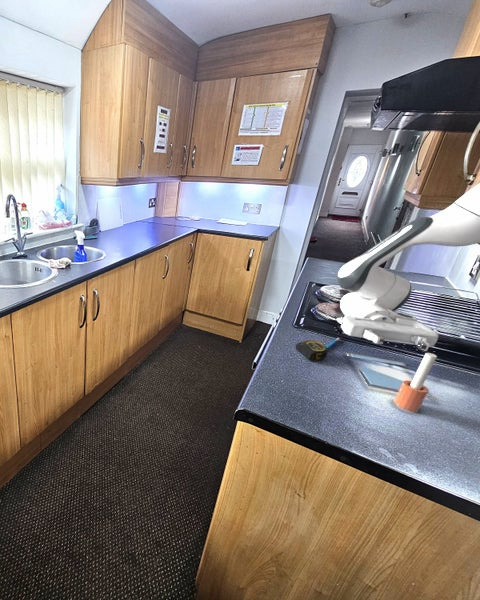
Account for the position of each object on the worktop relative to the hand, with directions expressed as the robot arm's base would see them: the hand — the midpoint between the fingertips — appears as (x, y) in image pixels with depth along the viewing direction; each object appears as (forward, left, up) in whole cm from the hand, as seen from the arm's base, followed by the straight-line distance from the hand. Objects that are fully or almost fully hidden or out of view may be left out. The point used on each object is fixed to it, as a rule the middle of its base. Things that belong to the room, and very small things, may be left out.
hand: (402, 344), depth 84 cm
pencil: (+10, -14, -11) cm, 20 cm away
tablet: (-1, -3, -11) cm, 12 cm away
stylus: (0, +11, -11) cm, 16 cm away
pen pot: (0, +11, -11) cm, 16 cm away
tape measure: (+17, -5, -11) cm, 21 cm away
